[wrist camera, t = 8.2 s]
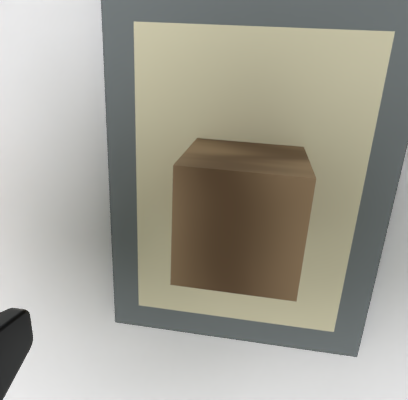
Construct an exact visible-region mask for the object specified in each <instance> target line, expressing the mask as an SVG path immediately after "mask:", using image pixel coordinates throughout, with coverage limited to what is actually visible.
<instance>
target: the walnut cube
mask: <svg viewBox="0 0 408 400" xmlns="http://www.w3.org/2000/svg"><path fill="white" fill-rule="evenodd" d="M315 184H316V176H315V174H314V171H313V169H312V166H311V164H310V161H309V159H308V156H307V154H306V151H305V149H304V147H300V146H288V145H276V144H263V143H251V142H239V141H227V140H215V139H203V138H197V139H196V140H195V141H194V142H193V143H192V144H191V145H190V147H189V148H188V149H187V150H186V151H185V152H184V153H183V155H182V156H181V157H180V158H179V159H178V160H177V161H176V162H175V164H174V165H173V190H172V234H171V279H170V285H175V286H182V287H190V288H197V289H205V290H212V291H220V292H228V293H235V294H243V295H250V296H258V297H265V298H273V299H280V300H288V301H295V302H296V301H297V295H298V289H299V283H300V277H301V271H302V264H303V258H304V252H305V246H306V240H307V233H308V227H309V221H310V215H311V209H312V203H313V196H314V190H315Z"/></svg>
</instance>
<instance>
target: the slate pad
mask: <svg viewBox="0 0 408 400" xmlns="http://www.w3.org/2000/svg"><path fill="white" fill-rule="evenodd" d="M101 10H102V32H103V55H104V77H105V100H106V123H107V145H108V168H109V190H110V213H111V235H112V258H113V280H114V303H115V322H118V323H125V324H132V325H139V326H145V327H152V328H159V329H166V330H173V331H180V332H187V333H194V334H201V335H208V336H215V337H222V338H229V339H236V340H242V341H249V342H256V343H263V344H270V345H277V346H284V347H291V348H298V349H305V350H312V351H319V352H326V353H333V354H340V355H346V356H353V357H357V355H358V351H359V347H360V342H361V338H362V334H363V330H364V326H365V321H366V317H367V313H368V309H369V304H370V300H371V296H372V292H373V288H374V283H375V279H376V275H377V271H378V266H379V262H380V258H381V254H382V250H383V245H384V241H385V237H386V233H387V228H388V224H389V220H390V216H391V212H392V207H393V203H394V199H395V195H396V190H397V186H398V182H399V178H400V174H401V169H402V165H403V161H404V157H405V152H406V148H407V144H408V0H101ZM197 138H203V139H215V140H227V141H239V142H251V143H263V144H276V145H288V146H300V147H304V149H305V151H306V154H307V156H308V159H309V161H310V164H311V166H312V169H313V171H314V174H315V176H316V184H315V190H314V196H313V203H312V209H311V215H310V221H309V227H308V233H307V240H306V246H305V252H304V258H303V264H302V271H301V277H300V283H299V289H298V295H297V301H296V302H295V301H288V300H280V299H273V298H265V297H258V296H250V295H243V294H235V293H228V292H220V291H212V290H205V289H197V288H190V287H182V286H175V285H170V279H171V234H172V190H173V165H174V164H175V162H176V161H177V160H178V159H179V158H180V157H181V156H182V155H183V153H184V152H185V151H186V150H187V149H188V148H189V147H190V145H191V144H192V143H193V142H194V141H195V140H196V139H197Z"/></svg>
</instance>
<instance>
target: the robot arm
mask: <svg viewBox="0 0 408 400" xmlns="http://www.w3.org/2000/svg"><path fill="white" fill-rule="evenodd" d="M32 342H33V333H32V326H31V319H30V313H29V312H28V311H27V310H25V309H18V308H10V309H7V310H5V311H3V312H0V400H3V398H4V397H5V395H6V393H7V391H8V389H9V387H10V385H11V383H12V382H13V380H14V378H15V376H16V374H17V372H18V370H19V369H20V367H21V365H22V363H23V361H24V359H25V357H26V355H27V354H28V352H29V350H30V348H31V345H32Z"/></svg>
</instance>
